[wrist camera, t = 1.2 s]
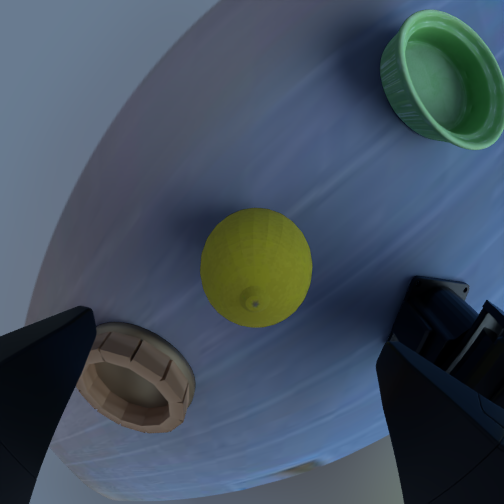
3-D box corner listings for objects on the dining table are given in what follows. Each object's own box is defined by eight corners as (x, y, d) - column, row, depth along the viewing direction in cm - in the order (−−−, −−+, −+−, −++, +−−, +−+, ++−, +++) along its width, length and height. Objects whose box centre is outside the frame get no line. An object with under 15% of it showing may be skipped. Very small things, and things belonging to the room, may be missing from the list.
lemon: (275, 292, 19) (282, 374, 12) (201, 257, 19) (164, 326, 11) (316, 221, 18) (355, 274, 10) (237, 181, 17) (217, 205, 9)
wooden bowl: (197, 337, 21) (187, 366, 18) (195, 419, 25) (189, 445, 21) (75, 309, 21) (55, 330, 17) (97, 393, 24) (85, 414, 21)
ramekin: (354, 26, 13) (378, -1, 9) (453, 38, 12) (486, 24, 8) (386, 151, 16) (420, 153, 12) (479, 145, 15) (517, 149, 11)
